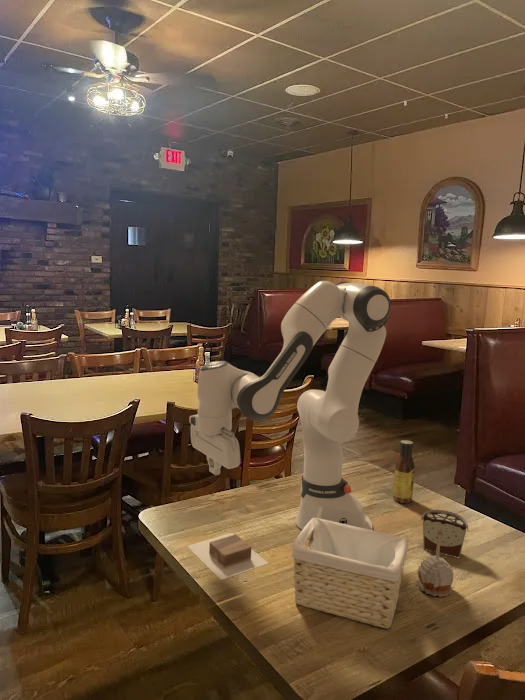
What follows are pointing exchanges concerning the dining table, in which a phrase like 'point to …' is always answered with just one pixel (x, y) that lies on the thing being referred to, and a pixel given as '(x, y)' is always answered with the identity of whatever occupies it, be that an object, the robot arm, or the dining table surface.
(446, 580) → the candy apple
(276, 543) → the dining table surface
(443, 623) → the dining table surface
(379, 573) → the storage basket
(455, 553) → the food container
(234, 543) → the walnut block
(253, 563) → the white rectangular sheet
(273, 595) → the dining table surface
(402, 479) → the sauce bottle
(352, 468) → the dining table surface
